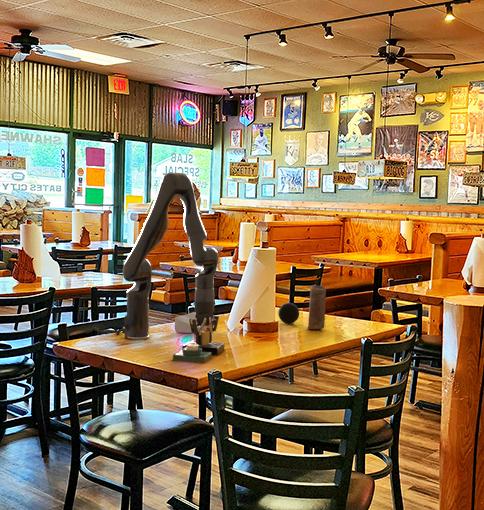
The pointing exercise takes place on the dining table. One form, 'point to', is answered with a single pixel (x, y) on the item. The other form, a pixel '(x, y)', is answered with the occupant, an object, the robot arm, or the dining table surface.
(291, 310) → the decorative ball
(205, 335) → the knob
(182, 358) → the button block
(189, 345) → the button
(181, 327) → the stone
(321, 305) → the candle
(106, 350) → the dining table surface
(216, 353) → the panel
